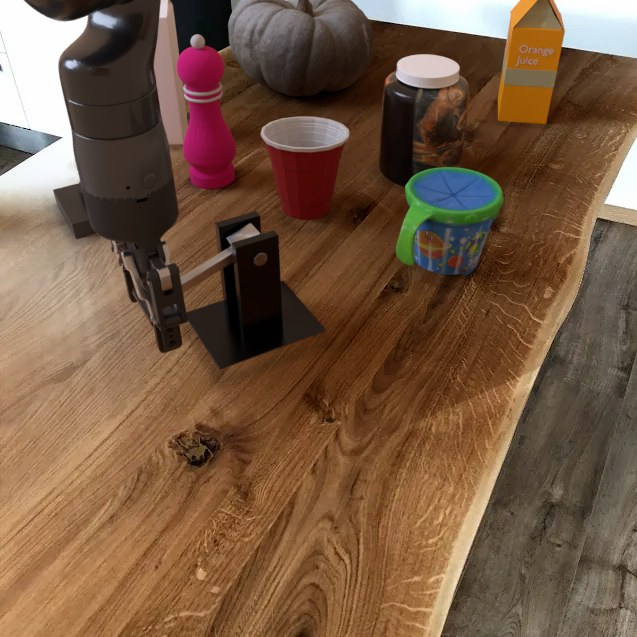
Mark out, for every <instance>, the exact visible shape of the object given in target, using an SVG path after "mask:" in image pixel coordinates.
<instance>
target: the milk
mask: <svg viewBox="0 0 637 637" xmlns="http://www.w3.org/2000/svg"><path fill="white" fill-rule="evenodd" d="M175 18H176V17H175V11H174V5H173V3H172V1H171V0H161V4H160V15H159V26H158V38H157V45H156V51H155V58H154V71H155V76H156V84H157V90H158V97H159V104H160V111H161V116H162V121H163V125H164V128H165V131H166V135H167V139H168V143H169V146H176V145H177V146H178V145H179V146H180V145H181V146H183V144H184V138H185V135H186V132H187V129H188V125H189V121H188V115H187V106H186V98H185V97H184V93H185V92H184V90H183V87H184V83H183V82H182V81H181V79H180V78H179V76H178V73H177V61H178V58H179V56H180V52H179V51H180V50H179V43H178V35H177V34H178V33H177V27H176V19H175Z"/></svg>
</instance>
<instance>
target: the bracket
mask: <svg viewBox="0 0 637 637" xmlns="http://www.w3.org/2000/svg"><path fill="white" fill-rule="evenodd" d="M250 223H251V224H252V225H253V226H254V227H255V228H256V229H257V230H258V231H259V233H260V234H259V235H256V236H253V237H249V238H246V239H243V240H239V241H236V242H232V251H233V261H234V262H232V263H231V264H229V265H228V266H226V267H224V268H223V269H221V270H220V271H219V272H220V280H221V289H222V298H223V300H222V299H221V300H219V301H217V302H214V303H210V304H207V305H204V306H201V307H198V308H195V309H192V310H189V311H186V313H187V316H188V318H187V320H188V322H187V323H189V325H190V326H191V328H192V329H193V331H194V332H195V335H197V337H198V339H199V340H200V342H201V343H202V344H203V346H204V347H205V349H206V351H207V352H208V354H209V355H210V357H211V358H212V360H213V361H214V363H215V364H216V366H217V367H218V369H219V370H223V369H226V368H229V367H231V366H234V365H238V364H239V363H242V362H244V361H248V360H250V359H253V358H255V357H258V356H261V355H264V354H267V353H269V352H272V351H275V350H277V349H281V348H283V347H286V346H289V345H291V344H294V343H296V342H300V341H303V340H306V339H308V338H310V337H313V336H316V335H319V334H321V333H324V332H326V331H327V329H326V328H325V327H324V326H323V324H322V323H321V322H320V321H319V319H317V318H316V316H315V315H314V314H313V313H312V312H311V310H309V309H308V307H307V306H306V305H305V304H304V302H303V301H302V300H301V299H300V298H299V297H298V296H297V295H296V293H294V291H293V290H292V289H291V287H290V286H289V285H288V284H287V283H286V282H285V281H284V280H282V279H281V264H280V263H281V258H280V241H279V240H280V239H279V237H280V236H279V234H278V233H277V231H275V230H274V229H273V230H269V231H266V232H262V224H261V214H260V213H259V212H258V211H257V210H254V211H251V212H247V213H244V214H241V215H238V216H234V217H230V218H225V219H222V220H219V221H216V222H214V228H215V237H216V245H217V246H216V247H217V254H219V253H220V252H222V251H224V250H225V249H227V248H229V247H230V244H229V242H228V240H227V237H228V236H230V235H232V234H233V233H235V232H237V231H238V230H240V229H241V228H243V227H245V226H246V225H248V224H250Z"/></svg>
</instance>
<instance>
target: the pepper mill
mask: <svg viewBox="0 0 637 637" xmlns="http://www.w3.org/2000/svg"><path fill="white" fill-rule="evenodd" d="M177 73H178V76H179V78H180V79H181V81H182V82H183V90H184V98H185V100H187V102H188V106H189V121H188V129H187V132H186V135H185V138H184V144H183V145H182V150H183V151H182V152H183V154H182V155H183V158H184V159H185V161H186V162H187V164H189V168H188V170H189V178H190V182H191V183H192V184H193V186H195V187H197V188H200V189H204V190H217V189H221V188H225V187H227V186H229V185H231V184H232V183H233V182H234V181H235V179H236V174H235V165H234V163H233V160H234V159H235V157H236V155H237V146H236V142H235V138H234V136H233V134H232V132H231V130H230V128H229V126H228V125H227V122H226V120H225V118H224V116H223V113H222V107H221V98H223V94H224V92H223V90H222V89H223V84H222V83H221V81H222V79H223V78H224V75H225V63H224V59H223V58H222V56H221V54H220V53H219V52H218V51H217V50H216V49H214V48H213V47H210V46H208V45H206V40H205V38H204V37H203V35H201V34H198V33H197V34H193V36H191V38H190V47H187V48H186V49H184V50H183V51H181V53H179V58H178V61H177Z"/></svg>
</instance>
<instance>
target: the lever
mask: <svg viewBox="0 0 637 637" xmlns="http://www.w3.org/2000/svg"><path fill="white" fill-rule="evenodd" d="M259 234H260V233H259V231H258V230H257V229H256V228H255V227H254V226H253V225H252V224H251V223H250V224H248V225H246V226H245V227H243V228H241V229H240V230H238V231H237V232H235V233H233V234H232V235H230V236H228V237H227V240H228V242H229V244H230V247H229V248H227V249H225V250H224V251H222V252H220V253H219V254H218V253H217V254H216V255H214V256H212V257H211V258H209V259H208V260H206V261H204V262H202V263H201V264H200V265H198V266H196V267H195V268H193V269H191V270H190V271H188V272H187V273H185V274H183V275H182V276H180V280H181V285H182V291H183V294H184V293H186V292H188V291H189V290H191V289H192V288H194V287H195V286H197V285H199V284H201V283H202V282H203V281H205V280H207V279H209V278H210V277H212V276H213V275H214V274H216V273H218V272H220V270H221V269H223V268H224V267H226V266H228V265H229V264H231V263H232V262H234V261H233V251H232V242H236V241H239V240H243V239H246V238H249V237H253V236H256V235H259ZM142 284H143V283H142ZM143 287H144V288H145V289H149V288H148V286H147V285H146V284H143ZM132 293H133V295H134V297H135V298H136V300H137V302H136V303H137V304H138V305H139V307H140V308H141V310H142V312H143V313H144V315H145V317H146V318H147V320H148V322H149V324H150V325H151V327H152V328H153V322H152V321H151V319H150V313H149V310H148V307H147V304H146V302H145V301H144V300H141V299H139V297H138V295H137V292H136V289H135V287H134V288H133V290H132Z"/></svg>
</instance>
